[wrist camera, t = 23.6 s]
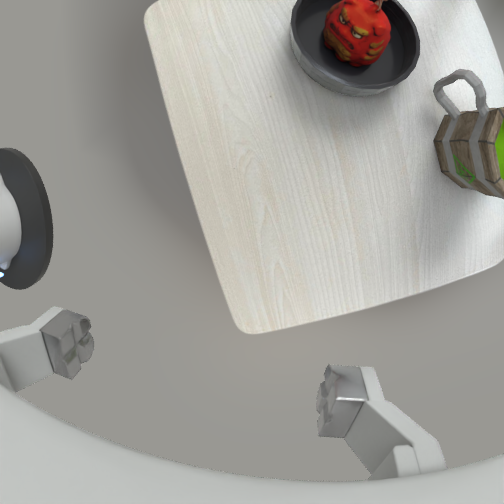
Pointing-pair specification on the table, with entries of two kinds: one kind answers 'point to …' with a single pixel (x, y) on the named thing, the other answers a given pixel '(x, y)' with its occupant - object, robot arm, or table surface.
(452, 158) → the mug
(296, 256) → the table surface
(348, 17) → the red clay folk toy
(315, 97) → the table surface
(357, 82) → the pan
